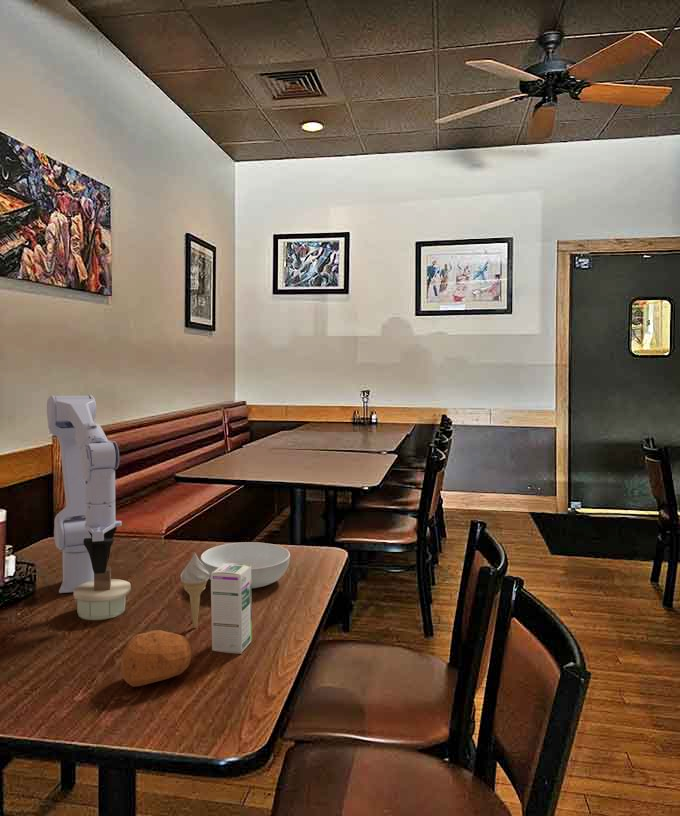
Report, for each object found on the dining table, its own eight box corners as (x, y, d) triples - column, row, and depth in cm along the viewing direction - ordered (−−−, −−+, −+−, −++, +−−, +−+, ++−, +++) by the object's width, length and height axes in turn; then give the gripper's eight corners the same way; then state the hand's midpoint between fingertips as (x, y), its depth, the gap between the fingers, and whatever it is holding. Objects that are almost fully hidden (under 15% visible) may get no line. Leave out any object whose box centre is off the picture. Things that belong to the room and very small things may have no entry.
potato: (120, 670, 107) (120, 626, 107) (189, 661, 111) (189, 618, 111) (121, 697, 99) (121, 649, 98) (196, 686, 102) (196, 640, 102)
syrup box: (241, 654, 114) (242, 573, 113) (210, 651, 115) (210, 571, 114) (252, 641, 119) (252, 564, 118) (222, 638, 120) (222, 561, 119)
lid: (77, 585, 136) (76, 562, 136) (131, 581, 139) (131, 559, 139) (70, 604, 126) (70, 579, 125) (129, 599, 129) (129, 575, 128)
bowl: (80, 605, 136) (80, 587, 135) (125, 602, 138) (125, 583, 138) (75, 622, 127) (75, 602, 127) (123, 617, 129) (123, 598, 129)
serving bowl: (182, 590, 146) (181, 560, 145) (231, 564, 165) (231, 538, 165) (263, 604, 138) (263, 572, 138) (304, 575, 157) (305, 547, 157)
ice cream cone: (215, 624, 127) (215, 549, 126) (199, 635, 121) (199, 557, 120) (190, 620, 129) (190, 546, 128) (174, 631, 123) (174, 554, 122)
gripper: (119, 508, 125) (119, 576, 126) (123, 493, 139) (123, 555, 140) (80, 509, 123) (81, 579, 124) (88, 495, 137) (89, 557, 138)
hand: (101, 567), depth 132 cm, fingers open, 7 cm apart
